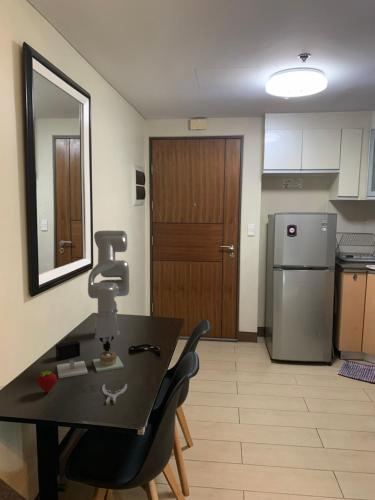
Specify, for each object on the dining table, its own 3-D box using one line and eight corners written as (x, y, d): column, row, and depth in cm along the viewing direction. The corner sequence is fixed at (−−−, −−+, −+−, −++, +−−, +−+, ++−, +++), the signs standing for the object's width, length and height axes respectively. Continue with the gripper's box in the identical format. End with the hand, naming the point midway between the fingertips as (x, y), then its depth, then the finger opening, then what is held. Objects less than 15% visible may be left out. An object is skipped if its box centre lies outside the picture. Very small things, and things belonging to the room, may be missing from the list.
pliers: (127, 381, 153) (123, 400, 138) (127, 385, 153) (124, 404, 138) (103, 382, 152) (97, 401, 138) (103, 386, 153) (97, 405, 138)
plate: (92, 361, 175) (92, 351, 174) (118, 357, 180) (118, 347, 179) (96, 372, 164) (96, 361, 164) (123, 368, 169) (123, 357, 168)
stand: (57, 366, 169) (56, 357, 168) (84, 362, 174) (83, 353, 173) (58, 378, 158) (58, 368, 157) (87, 373, 163) (87, 363, 162)
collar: (97, 364, 170) (97, 355, 169) (106, 358, 176) (106, 350, 176) (110, 366, 167) (110, 358, 167) (118, 361, 174) (118, 352, 173)
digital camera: (76, 352, 186) (75, 339, 185) (80, 356, 182) (80, 342, 181) (55, 357, 180) (54, 343, 179) (59, 361, 175) (58, 347, 174)
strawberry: (54, 396, 143) (54, 371, 142) (34, 396, 143) (34, 371, 142) (59, 388, 149) (58, 364, 148) (40, 388, 149) (39, 365, 147)
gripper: (120, 308, 178) (120, 345, 181) (88, 312, 172) (89, 349, 175) (124, 313, 171) (124, 351, 174) (90, 316, 166) (91, 356, 168)
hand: (106, 350), depth 174 cm, fingers closed
